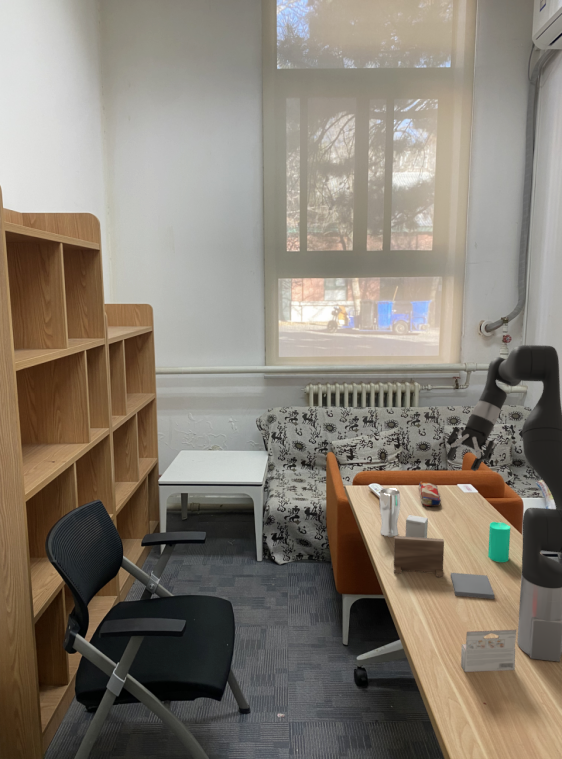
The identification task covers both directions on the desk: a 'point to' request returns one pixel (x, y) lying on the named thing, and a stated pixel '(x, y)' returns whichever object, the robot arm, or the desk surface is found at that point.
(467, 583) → the grey mat
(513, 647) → the ink cartridge box
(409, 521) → the skincare box
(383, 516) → the beer glass
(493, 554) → the candle
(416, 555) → the walnut screen
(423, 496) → the paperback book
